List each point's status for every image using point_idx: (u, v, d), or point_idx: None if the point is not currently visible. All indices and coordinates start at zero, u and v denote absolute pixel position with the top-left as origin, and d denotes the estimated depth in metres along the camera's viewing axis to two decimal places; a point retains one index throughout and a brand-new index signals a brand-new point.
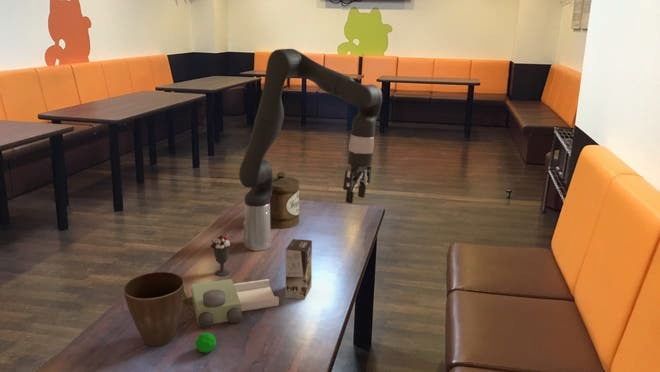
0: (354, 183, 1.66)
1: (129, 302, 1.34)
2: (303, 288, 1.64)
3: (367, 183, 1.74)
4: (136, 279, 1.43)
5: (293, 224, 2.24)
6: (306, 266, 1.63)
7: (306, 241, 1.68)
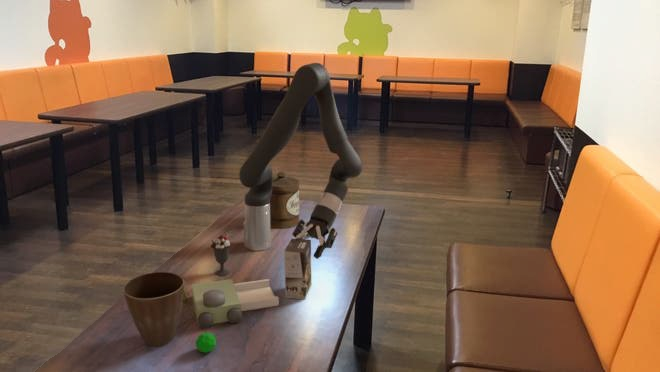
0: (325, 240, 1.69)
1: (129, 301, 1.34)
2: (303, 288, 1.64)
3: None
4: (136, 279, 1.43)
5: (293, 224, 2.24)
6: (305, 267, 1.63)
7: (304, 240, 1.67)
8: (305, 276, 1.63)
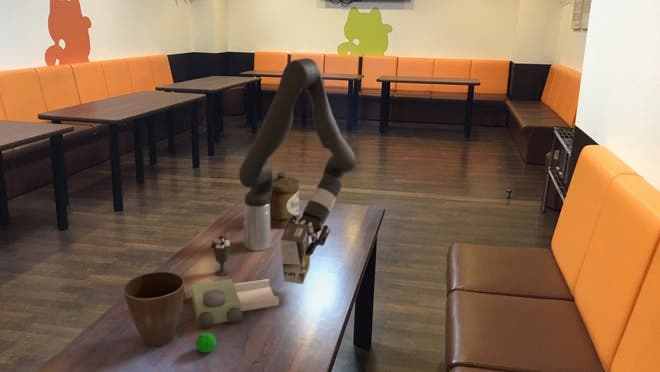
0: (317, 237, 1.66)
1: (129, 302, 1.34)
2: (301, 274, 1.62)
3: None
4: (136, 279, 1.43)
5: None
6: (302, 254, 1.60)
7: (302, 226, 1.62)
8: (302, 263, 1.61)
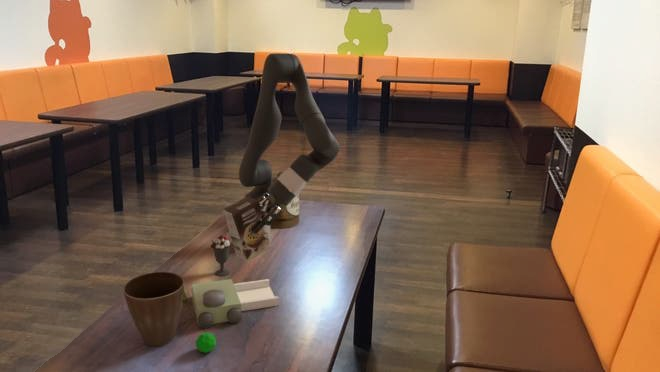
0: (270, 217, 1.56)
1: (129, 302, 1.34)
2: (243, 250, 1.56)
3: None
4: (136, 279, 1.43)
5: (293, 224, 2.24)
6: (242, 229, 1.53)
7: (252, 201, 1.55)
8: (244, 238, 1.54)
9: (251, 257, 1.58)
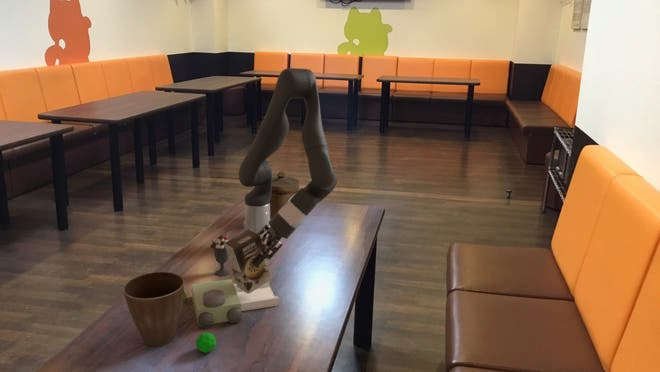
0: (270, 250, 1.59)
1: (129, 301, 1.34)
2: (244, 283, 1.59)
3: None
4: (136, 279, 1.43)
5: None
6: (243, 263, 1.56)
7: (253, 234, 1.58)
8: (245, 272, 1.57)
9: (252, 289, 1.60)
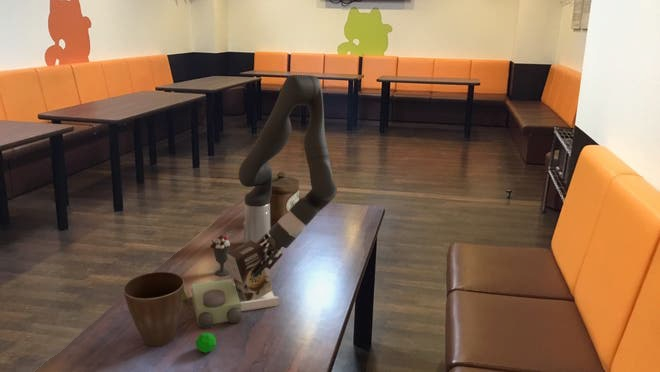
0: (270, 260, 1.59)
1: (129, 301, 1.34)
2: (245, 293, 1.60)
3: None
4: (136, 279, 1.43)
5: None
6: (245, 273, 1.57)
7: (256, 245, 1.60)
8: (246, 282, 1.58)
9: None
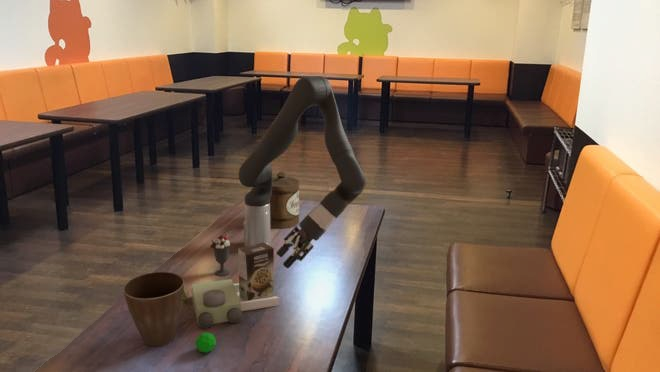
0: (301, 252, 1.62)
1: (129, 302, 1.34)
2: (247, 292, 1.60)
3: None
4: (136, 279, 1.43)
5: (293, 224, 2.24)
6: (252, 271, 1.59)
7: (267, 247, 1.62)
8: (251, 280, 1.60)
9: None
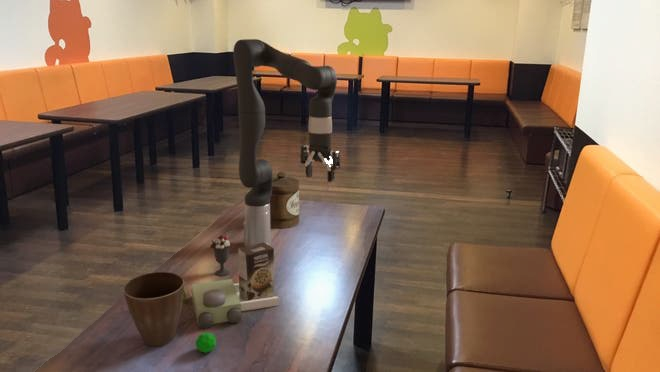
0: (331, 161, 1.73)
1: (129, 302, 1.34)
2: (247, 292, 1.60)
3: None
4: (136, 279, 1.43)
5: (293, 224, 2.24)
6: (252, 271, 1.59)
7: (267, 247, 1.62)
8: (251, 280, 1.60)
9: None
